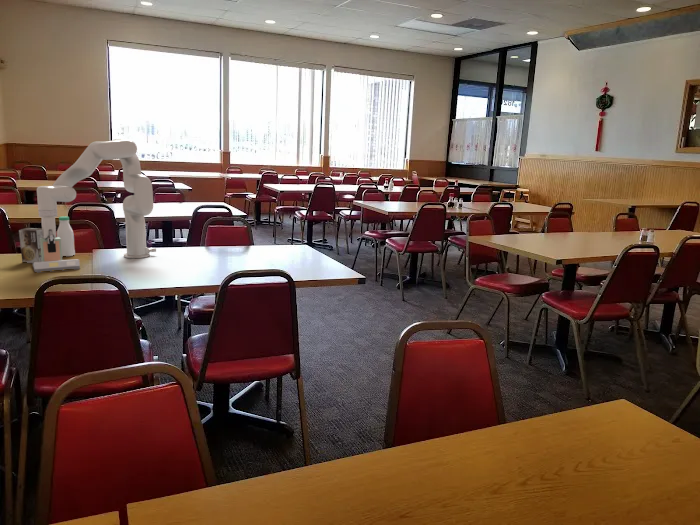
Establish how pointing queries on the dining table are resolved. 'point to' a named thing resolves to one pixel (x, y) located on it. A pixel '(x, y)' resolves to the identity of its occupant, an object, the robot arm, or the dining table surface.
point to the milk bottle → (66, 237)
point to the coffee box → (30, 244)
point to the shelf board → (56, 265)
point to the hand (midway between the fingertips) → (51, 250)
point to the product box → (54, 255)
